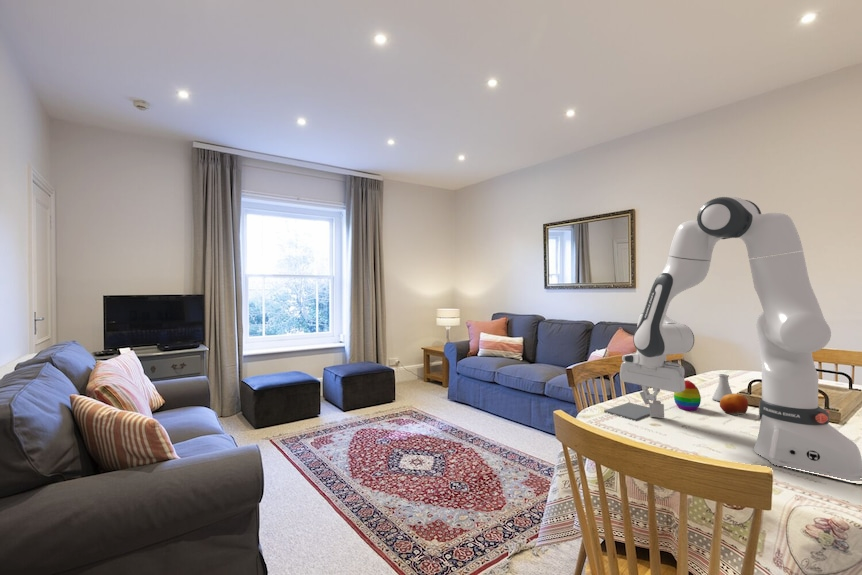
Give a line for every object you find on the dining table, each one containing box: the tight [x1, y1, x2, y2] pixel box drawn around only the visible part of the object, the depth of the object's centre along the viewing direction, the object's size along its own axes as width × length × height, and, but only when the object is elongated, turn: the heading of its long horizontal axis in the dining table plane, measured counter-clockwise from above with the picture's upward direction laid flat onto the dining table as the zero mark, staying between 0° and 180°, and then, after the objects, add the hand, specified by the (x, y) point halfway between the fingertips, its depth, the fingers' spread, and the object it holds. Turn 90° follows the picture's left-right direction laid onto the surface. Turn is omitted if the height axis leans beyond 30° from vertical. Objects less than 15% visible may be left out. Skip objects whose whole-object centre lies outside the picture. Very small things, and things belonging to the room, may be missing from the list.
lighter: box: [639, 390, 665, 418], centre depth 139 cm, size 7×2×8 cm, turn 72°
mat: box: [604, 402, 650, 421], centre depth 144 cm, size 11×16×1 cm
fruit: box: [719, 393, 749, 417], centre depth 142 cm, size 8×8×8 cm
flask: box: [711, 373, 733, 402], centre depth 157 cm, size 7×7×10 cm
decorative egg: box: [673, 380, 702, 411], centre depth 148 cm, size 8×8×10 cm
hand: (650, 399), depth 139 cm, fingers closed, pressing on lighter
